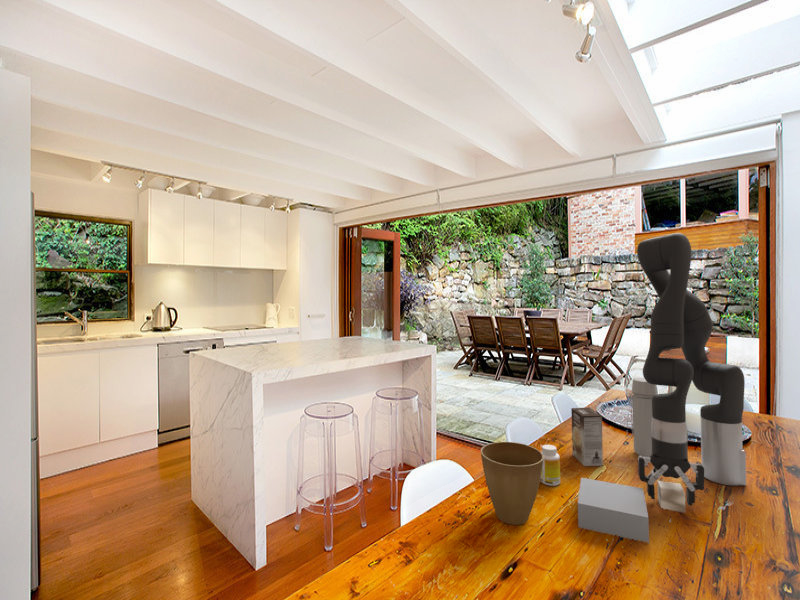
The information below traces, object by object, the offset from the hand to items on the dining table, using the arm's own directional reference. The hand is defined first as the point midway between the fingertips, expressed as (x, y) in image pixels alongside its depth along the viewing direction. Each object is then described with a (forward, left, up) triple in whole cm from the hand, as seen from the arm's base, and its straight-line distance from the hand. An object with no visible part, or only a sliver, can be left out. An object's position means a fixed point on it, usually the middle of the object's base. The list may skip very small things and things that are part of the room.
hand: (670, 500), depth 99 cm
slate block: (+14, +12, -2) cm, 18 cm away
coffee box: (+19, -22, -1) cm, 29 cm away
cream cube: (0, 0, -1) cm, 1 cm away
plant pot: (+36, +20, -1) cm, 41 cm away
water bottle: (+2, -34, -1) cm, 34 cm away
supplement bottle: (+29, -2, -1) cm, 29 cm away
